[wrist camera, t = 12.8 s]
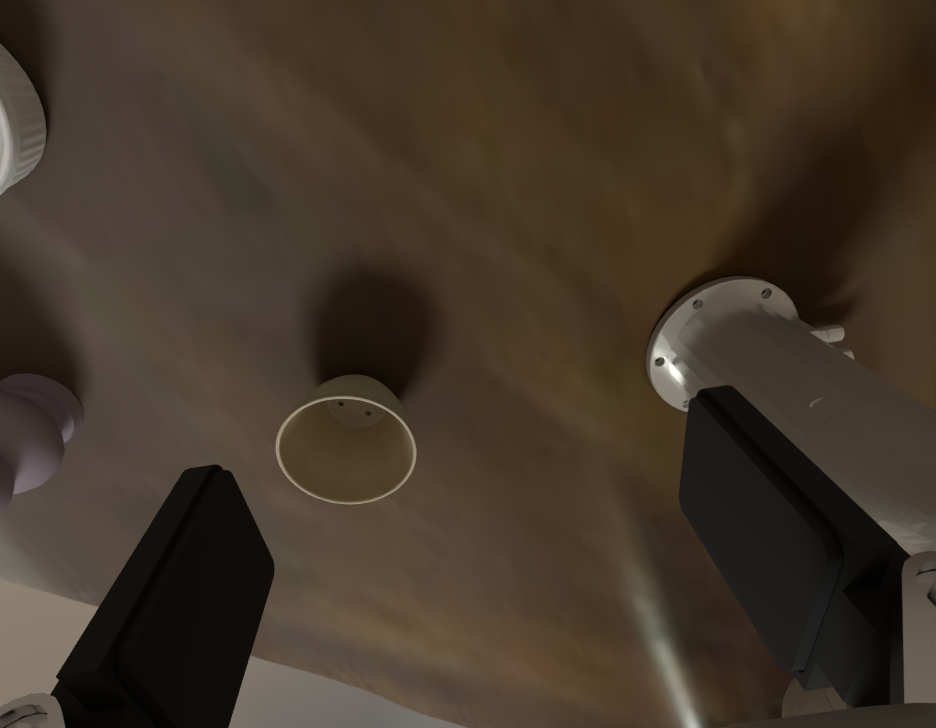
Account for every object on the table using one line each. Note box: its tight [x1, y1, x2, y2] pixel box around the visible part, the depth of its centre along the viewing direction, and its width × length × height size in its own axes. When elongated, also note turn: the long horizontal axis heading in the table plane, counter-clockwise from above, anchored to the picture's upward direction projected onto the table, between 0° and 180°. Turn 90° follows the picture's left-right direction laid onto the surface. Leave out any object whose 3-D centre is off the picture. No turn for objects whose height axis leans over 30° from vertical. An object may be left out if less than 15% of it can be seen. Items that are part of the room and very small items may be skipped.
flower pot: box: [276, 374, 417, 504], centre depth 39 cm, size 10×10×7 cm
